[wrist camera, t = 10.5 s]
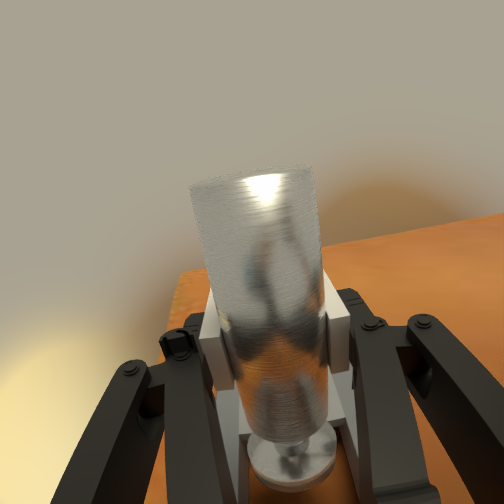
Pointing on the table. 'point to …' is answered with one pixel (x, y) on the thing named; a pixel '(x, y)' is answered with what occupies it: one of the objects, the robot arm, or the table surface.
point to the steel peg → (272, 315)
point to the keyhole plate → (239, 431)
